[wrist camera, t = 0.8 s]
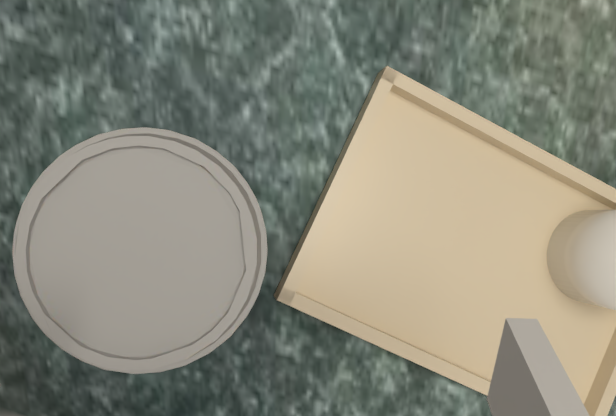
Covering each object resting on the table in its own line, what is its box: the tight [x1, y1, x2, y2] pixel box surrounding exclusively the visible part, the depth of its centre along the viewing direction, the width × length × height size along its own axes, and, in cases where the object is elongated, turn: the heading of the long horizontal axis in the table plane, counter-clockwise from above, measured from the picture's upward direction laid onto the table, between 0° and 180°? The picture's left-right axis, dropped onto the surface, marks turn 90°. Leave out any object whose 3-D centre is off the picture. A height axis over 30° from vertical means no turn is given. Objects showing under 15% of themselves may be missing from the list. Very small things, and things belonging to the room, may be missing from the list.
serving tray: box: [274, 66, 616, 416], centre depth 34 cm, size 15×22×2 cm
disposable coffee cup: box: [12, 127, 267, 374], centre depth 26 cm, size 10×10×12 cm
